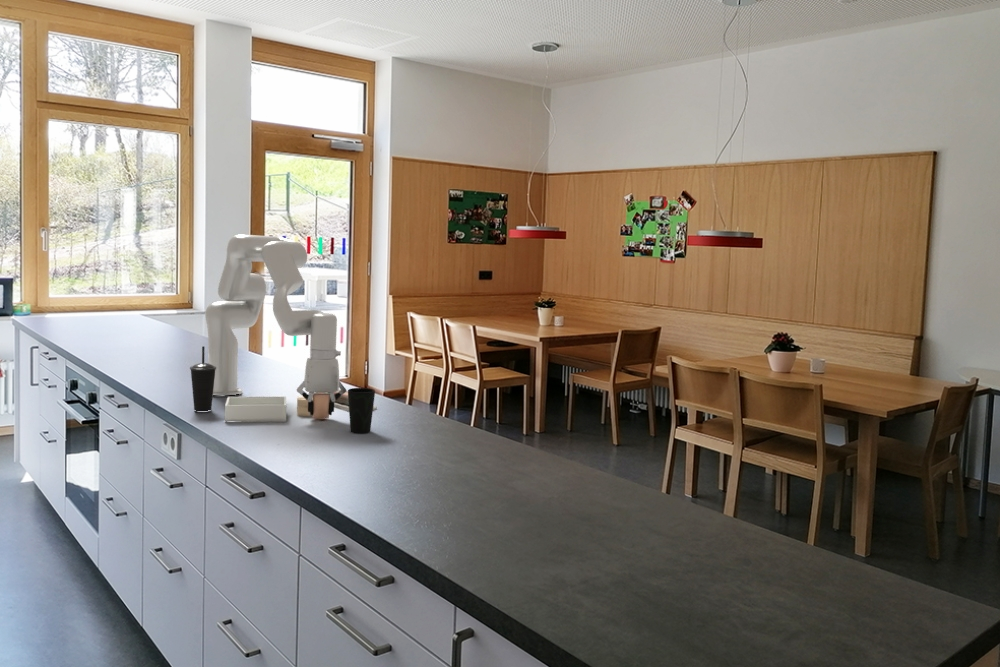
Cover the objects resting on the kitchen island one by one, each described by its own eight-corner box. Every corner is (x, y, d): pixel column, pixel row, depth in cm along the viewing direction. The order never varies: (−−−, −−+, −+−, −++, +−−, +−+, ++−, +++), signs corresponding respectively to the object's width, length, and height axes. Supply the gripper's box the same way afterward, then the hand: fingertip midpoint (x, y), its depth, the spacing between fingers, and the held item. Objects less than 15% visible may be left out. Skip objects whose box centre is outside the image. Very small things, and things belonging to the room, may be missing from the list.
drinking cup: (198, 414, 245) (199, 348, 243) (184, 410, 249) (184, 346, 247) (221, 411, 251) (221, 347, 249) (206, 407, 255) (207, 344, 253)
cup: (368, 435, 229) (369, 393, 227) (342, 433, 230) (343, 391, 229) (377, 429, 236) (379, 389, 235) (352, 427, 238) (353, 386, 236)
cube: (297, 412, 255) (297, 396, 255) (313, 412, 256) (313, 396, 256) (297, 415, 250) (297, 399, 250) (314, 415, 252) (314, 399, 251)
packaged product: (321, 390, 270) (346, 387, 277) (320, 404, 271) (346, 401, 278) (351, 399, 257) (377, 396, 264) (351, 414, 258) (377, 410, 265)
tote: (227, 412, 249) (227, 396, 249) (285, 412, 254) (286, 396, 253) (224, 422, 237) (225, 405, 236) (286, 421, 241) (286, 405, 241)
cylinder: (311, 414, 248) (312, 392, 247) (328, 414, 249) (329, 392, 248) (312, 418, 243) (313, 395, 242) (329, 418, 244) (330, 395, 244)
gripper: (350, 353, 250) (348, 411, 252) (293, 352, 245) (291, 411, 247) (352, 357, 243) (350, 417, 245) (293, 356, 238) (291, 417, 240)
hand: (320, 413), depth 246 cm, fingers closed on cylinder, 5 cm apart
